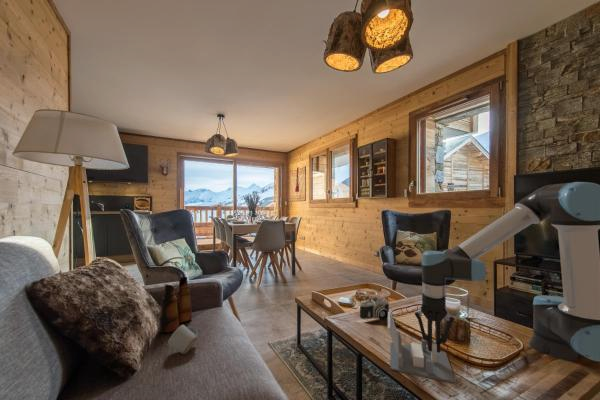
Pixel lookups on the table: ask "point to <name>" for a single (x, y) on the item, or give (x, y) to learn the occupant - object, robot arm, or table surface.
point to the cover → (393, 332)
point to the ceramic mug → (183, 339)
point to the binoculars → (175, 307)
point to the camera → (374, 309)
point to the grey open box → (431, 369)
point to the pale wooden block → (417, 355)
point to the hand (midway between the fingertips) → (433, 360)
